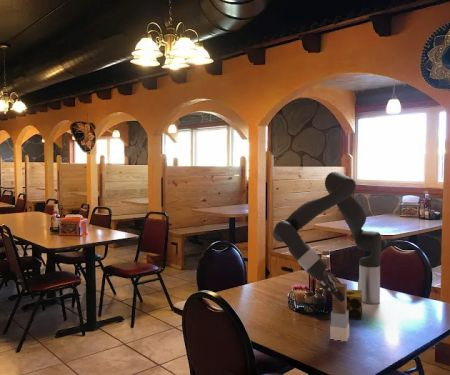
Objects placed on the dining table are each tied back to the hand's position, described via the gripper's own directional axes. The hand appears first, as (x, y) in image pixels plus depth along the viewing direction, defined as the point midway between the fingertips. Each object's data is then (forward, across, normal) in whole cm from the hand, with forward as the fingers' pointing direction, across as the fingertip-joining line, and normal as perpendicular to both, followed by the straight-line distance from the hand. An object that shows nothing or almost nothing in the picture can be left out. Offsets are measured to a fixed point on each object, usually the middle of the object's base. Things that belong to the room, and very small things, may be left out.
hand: (344, 298), depth 160 cm
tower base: (+10, 0, +12) cm, 15 cm away
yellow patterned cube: (+10, +26, +12) cm, 30 cm away
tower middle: (+6, 0, +8) cm, 10 cm away
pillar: (+2, 0, +5) cm, 6 cm away
